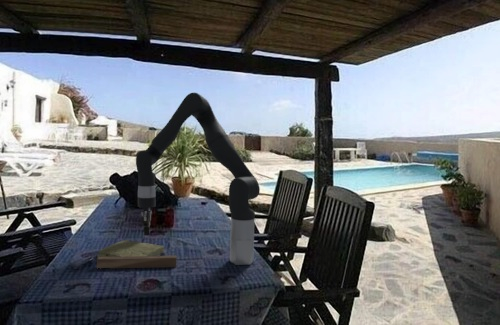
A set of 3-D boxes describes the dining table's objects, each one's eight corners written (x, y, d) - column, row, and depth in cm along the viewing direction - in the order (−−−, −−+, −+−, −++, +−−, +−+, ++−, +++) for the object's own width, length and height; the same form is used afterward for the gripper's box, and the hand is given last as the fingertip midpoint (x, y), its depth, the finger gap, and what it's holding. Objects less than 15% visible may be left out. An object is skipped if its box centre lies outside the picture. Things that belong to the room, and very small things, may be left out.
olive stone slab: (123, 246, 161) (123, 238, 161) (164, 252, 155) (164, 244, 155) (93, 260, 144) (93, 251, 143) (138, 267, 138) (138, 258, 137)
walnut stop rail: (176, 266, 138) (176, 257, 138) (97, 268, 134) (96, 259, 134) (176, 264, 141) (176, 255, 140) (98, 266, 136) (98, 257, 136)
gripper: (154, 198, 157) (154, 238, 158) (156, 193, 170) (156, 230, 171) (135, 198, 155) (135, 239, 157) (139, 193, 168) (139, 231, 170)
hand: (146, 234), depth 164 cm, fingers closed
